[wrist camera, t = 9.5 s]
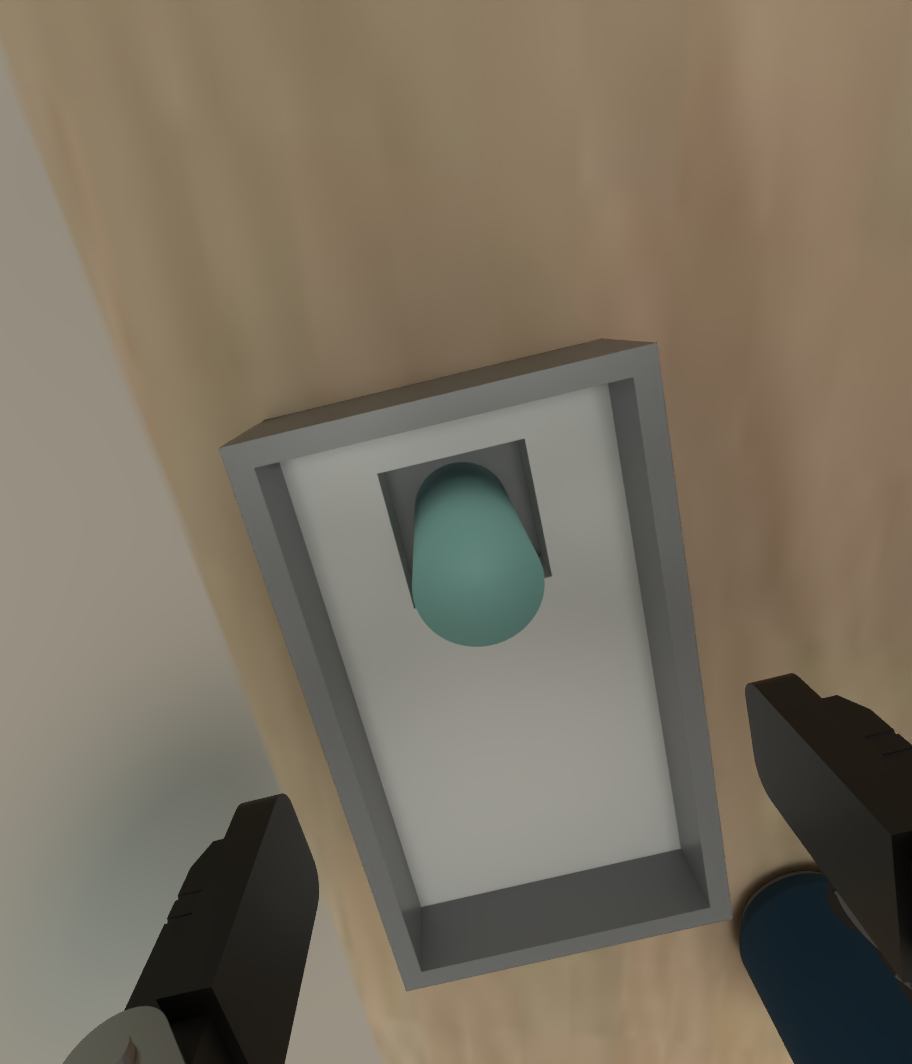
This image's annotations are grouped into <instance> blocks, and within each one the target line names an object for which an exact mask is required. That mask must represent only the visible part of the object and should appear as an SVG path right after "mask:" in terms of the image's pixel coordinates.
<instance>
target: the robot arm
mask: <svg viewBox="0 0 912 1064" xmlns="http://www.w3.org/2000/svg"><path fill="white" fill-rule="evenodd" d="M745 696H746V703H747V710H748V717H749V724H750V731H751V737H752V744H753V751H754V758H755V763H756V767H757V771H758V774H759V777H760V779H761V782H762V784H763V787H764V789H765V791H766V793H767V795H768V796H769V798H770V800H771V801H772V802H773V804H774V805H775V807H776V808H777V809H778V811H779V812H780V814H781V815H782V816H783V818H784V819H785V820H786V822H787V823H788V825H789V826H790V827H791V829H792V830H793V832H794V833H795V834H796V836H797V837H798V838H799V840H800V841H801V843H802V844H803V845H804V847H805V848H806V849H807V851H808V852H809V854H810V855H811V856H812V858H813V859H814V861H815V862H816V863H817V865H818V866H819V867H820V869H821V870H822V872H823V873H824V874H825V876H826V877H827V878H828V880H829V881H830V883H831V884H832V885H833V887H834V888H835V890H836V891H837V892H838V894H839V895H840V896H841V898H842V899H843V901H844V902H845V903H846V905H847V906H848V908H849V909H850V910H851V912H852V913H853V914H854V916H855V917H856V919H857V920H858V921H859V923H860V924H861V925H862V927H863V928H864V930H865V931H866V932H867V934H868V935H869V937H870V938H871V939H872V941H873V942H874V943H875V945H876V946H877V948H878V949H879V950H880V952H881V953H882V955H883V956H884V957H885V959H886V960H887V961H888V963H889V964H890V966H891V967H892V968H893V970H894V971H895V972H896V974H897V975H898V977H899V978H900V979H901V981H902V982H903V983H906V982H910V981H912V745H911V744H910V743H909V742H908V741H906V740H905V739H904V738H903V737H902V736H901V735H899V734H895V732H894V729H892V728H891V727H890V726H889V725H888V724H887V723H885V722H884V721H883V720H882V719H881V718H880V717H878V716H877V715H876V714H875V713H874V712H873V711H871V710H870V709H868V708H866V707H863V706H861V705H859V704H857V703H854V702H852V701H850V700H847V699H845V698H843V697H840V696H838V695H835V696H831V697H827V698H823V699H822V698H821V697H820V696H819V695H818V694H817V693H816V692H814V691H813V690H812V689H811V688H810V687H809V686H808V685H807V684H806V683H805V682H804V681H803V680H802V679H801V678H799V677H798V676H797V675H795V674H793V673H790V674H786V675H782V676H778V677H773V678H769V679H765V680H761V681H757V682H752V683H748V684H747V685H746V689H745ZM318 900H319V881H318V874H317V869H316V865H315V862H314V859H313V857H312V854H311V851H310V849H309V846H308V844H307V841H306V839H305V836H304V834H303V831H302V828H301V826H300V823H299V821H298V818H297V816H296V813H295V811H294V808H293V805H292V803H291V801H290V799H289V798H288V796H287V795H285V794H279V795H274V796H271V797H266V798H262V799H258V800H253V801H249V802H245V803H241V804H240V805H239V806H238V807H237V809H236V812H235V814H234V816H233V818H232V821H231V823H230V826H229V828H228V830H227V833H226V835H225V837H224V839H221V840H217V841H213V842H212V844H211V845H210V846H209V847H208V848H207V849H206V851H205V852H204V853H203V854H202V855H201V856H200V858H199V859H198V860H197V861H196V862H195V863H194V864H193V866H192V867H191V868H190V870H189V872H188V875H187V877H186V879H185V881H184V883H183V885H182V888H181V890H180V892H179V894H178V900H177V901H175V903H174V905H173V907H172V909H171V911H170V913H169V915H168V918H167V919H168V923H167V924H164V926H163V928H162V930H161V933H160V935H159V937H158V939H157V941H156V944H155V946H154V948H153V950H152V952H151V954H150V957H149V959H148V961H147V963H146V965H145V967H144V969H143V971H142V974H141V976H140V978H139V980H138V982H137V985H136V987H135V989H134V991H133V993H132V995H131V997H130V999H129V1002H128V1004H127V1006H126V1008H125V1010H124V1011H123V1012H120V1013H118V1014H116V1015H115V1016H113V1017H111V1018H109V1019H107V1020H106V1021H105V1022H103V1023H102V1024H100V1025H99V1026H97V1027H96V1028H95V1029H94V1030H93V1031H91V1032H90V1033H89V1034H88V1035H87V1036H86V1037H85V1038H84V1039H83V1040H82V1041H81V1042H80V1043H79V1044H78V1045H77V1046H76V1047H75V1048H74V1049H73V1051H72V1052H71V1053H70V1054H69V1056H68V1057H67V1058H66V1060H65V1061H64V1063H63V1064H285V1059H286V1054H287V1049H288V1045H289V1040H290V1035H291V1030H292V1025H293V1021H294V1015H295V1011H296V1006H297V1001H298V997H299V992H300V987H301V982H302V978H303V973H304V968H305V964H306V959H307V954H308V949H309V944H310V940H311V935H312V930H313V925H314V920H315V916H316V911H317V906H318Z"/></svg>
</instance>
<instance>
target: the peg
mask: <svg viewBox="0 0 912 1064" xmlns="http://www.w3.org/2000/svg"><path fill="white" fill-rule="evenodd" d="M544 587H545V580H544V572H543V567H542V565H541V562H540V559H539V557H538V555H537V553H536V551H535V549H534V547H533V545H532V543H531V541H530V539H529V537H528V535H527V533H526V531H525V529H524V527H523V525H522V523H521V521H520V519H519V517H518V515H517V513H516V511H515V509H514V507H513V505H512V503H511V501H510V499H509V496H508V494H507V492H506V490H505V488H504V487H503V485H502V483H501V481H500V480H499V479H498V478H497V477H496V475H495V474H493V473H492V472H491V471H490V470H488V469H487V468H485V467H483V466H481V465H478V464H475V463H470V462H455V463H450V464H447V465H444V466H442V467H440V468H438V469H436V470H435V471H434V472H432V473H431V474H430V475H429V476H428V477H427V478H426V479H425V480H424V482H423V483H422V485H421V487H420V489H419V491H418V493H417V497H416V502H415V522H414V548H413V573H412V594H413V600H414V603H415V607H416V609H417V611H418V614H419V615H420V617H421V618H422V620H423V621H424V623H425V624H426V625H427V626H428V627H429V628H430V629H431V630H432V631H433V632H434V633H436V634H437V635H438V636H440V637H442V638H443V639H445V640H447V641H450V642H452V643H455V644H459V645H463V646H470V647H483V646H490V645H494V644H498V643H501V642H503V641H506V640H508V639H510V638H512V637H513V636H515V635H516V634H518V633H519V632H521V631H522V630H523V629H524V628H525V627H526V626H527V625H528V624H529V623H530V622H531V621H532V619H533V618H534V616H535V615H536V613H537V611H538V609H539V607H540V605H541V602H542V599H543V595H544Z"/></svg>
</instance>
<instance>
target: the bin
mask: <svg viewBox="0 0 912 1064" xmlns="http://www.w3.org/2000/svg"><path fill="white" fill-rule="evenodd" d="M219 451H220V454H221V456H222V459H223V462H224V465H225V468H226V471H227V474H228V477H229V480H230V482H231V485H232V488H233V491H234V494H235V497H236V500H237V503H238V506H239V508H240V511H241V514H242V517H243V520H244V523H245V526H246V529H247V532H248V535H249V537H250V540H251V543H252V546H253V549H254V552H255V555H256V558H257V561H258V563H259V566H260V569H261V572H262V575H263V578H264V581H265V584H266V587H267V590H268V592H269V595H270V598H271V601H272V604H273V607H274V610H275V613H276V616H277V618H278V621H279V624H280V627H281V630H282V633H283V636H284V639H285V642H286V645H287V647H288V650H289V653H290V656H291V659H292V662H293V665H294V668H295V671H296V673H297V676H298V679H299V682H300V685H301V688H302V691H303V694H304V697H305V699H306V702H307V705H308V708H309V711H310V714H311V717H312V720H313V723H314V726H315V728H316V731H317V734H318V737H319V740H320V743H321V746H322V749H323V752H324V754H325V757H326V760H327V763H328V766H329V769H330V772H331V775H332V778H333V781H334V783H335V786H336V789H337V792H338V795H339V798H340V801H341V804H342V807H343V809H344V812H345V815H346V818H347V821H348V824H349V827H350V830H351V833H352V836H353V838H354V841H355V844H356V847H357V850H358V853H359V856H360V859H361V862H362V864H363V867H364V870H365V873H366V876H367V879H368V882H369V885H370V888H371V890H372V893H373V896H374V899H375V902H376V905H377V908H378V911H379V914H380V917H381V919H382V922H383V925H384V928H385V931H386V934H387V937H388V940H389V943H390V945H391V948H392V951H393V954H394V957H395V960H396V963H397V966H398V969H399V972H400V974H401V977H402V980H403V983H404V986H405V989H406V991H410V990H415V989H419V988H424V987H428V986H433V985H437V984H442V983H446V982H451V981H455V980H460V979H464V978H469V977H473V976H478V975H482V974H487V973H491V972H496V971H500V970H505V969H509V968H514V967H518V966H523V965H527V964H532V963H536V962H541V961H545V960H550V959H554V958H559V957H563V956H568V955H572V954H577V953H581V952H586V951H590V950H594V949H599V948H603V947H608V946H612V945H617V944H621V943H626V942H630V941H635V940H639V939H644V938H648V937H653V936H657V935H662V934H666V933H671V932H675V931H680V930H684V929H689V928H693V927H698V926H702V925H707V924H711V923H716V922H720V921H725V920H729V919H733V916H732V909H731V901H730V893H729V886H728V878H727V871H726V863H725V856H724V848H723V840H722V833H721V825H720V818H719V810H718V802H717V795H716V787H715V780H714V772H713V765H712V757H711V749H710V742H709V734H708V727H707V719H706V711H705V704H704V696H703V689H702V681H701V674H700V666H699V658H698V651H697V643H696V636H695V628H694V621H693V613H692V605H691V598H690V590H689V583H688V575H687V567H686V560H685V552H684V545H683V537H682V530H681V522H680V514H679V507H678V499H677V492H676V484H675V476H674V469H673V461H672V454H671V446H670V439H669V431H668V423H667V416H666V408H665V401H664V393H663V386H662V378H661V370H660V363H659V355H658V348H657V343H654V342H640V341H626V340H613V339H599V340H595V341H591V342H586V343H582V344H578V345H574V346H570V347H566V348H562V349H557V350H553V351H549V352H545V353H541V354H537V355H533V356H528V357H524V358H520V359H516V360H512V361H508V362H504V363H499V364H495V365H491V366H487V367H483V368H479V369H475V370H470V371H466V372H462V373H458V374H454V375H450V376H446V377H441V378H437V379H433V380H429V381H425V382H421V383H417V384H412V385H408V386H404V387H400V388H396V389H392V390H388V391H383V392H379V393H375V394H371V395H367V396H363V397H359V398H354V399H350V400H346V401H342V402H338V403H334V404H330V405H325V406H321V407H317V408H313V409H309V410H305V411H300V412H296V413H292V414H288V415H284V416H280V417H276V418H271V419H267V420H264V421H263V422H261V423H259V424H258V425H256V426H254V427H253V428H251V429H249V430H248V431H246V432H245V433H243V434H241V435H240V436H238V437H236V438H235V439H233V440H231V441H230V442H228V443H226V444H225V445H223V446H221V447H220V448H219ZM455 462H470V463H475V464H478V465H481V466H483V467H485V468H487V469H488V470H490V471H491V472H492V473H493V474H495V475H496V477H497V478H498V479H499V480H500V481H501V483H502V485H503V487H504V488H505V490H506V492H507V494H508V496H509V499H510V501H511V503H512V505H513V507H514V509H515V511H516V513H517V515H518V517H519V519H520V521H521V523H522V525H523V527H524V529H525V531H526V533H527V535H528V537H529V539H530V541H531V543H532V545H533V547H534V549H535V551H536V553H537V555H538V557H539V559H540V562H541V565H542V567H543V572H544V580H545V587H544V595H543V599H542V602H541V605H540V607H539V609H538V611H537V613H536V615H535V616H534V618H533V619H532V621H531V622H530V623H529V624H528V625H527V626H526V627H525V628H524V629H523V630H522V631H521V632H519V633H518V634H516V635H515V636H513V637H512V638H510V639H508V640H506V641H503V642H501V643H498V644H494V645H490V646H483V647H470V646H463V645H459V644H455V643H452V642H450V641H447V640H445V639H443V638H442V637H440V636H438V635H437V634H436V633H434V632H433V631H432V630H431V629H430V628H429V627H428V626H427V625H426V624H425V623H424V621H423V620H422V618H421V617H420V615H419V614H418V611H417V609H416V607H415V603H414V600H413V594H412V573H413V548H414V522H415V502H416V497H417V493H418V491H419V489H420V487H421V485H422V483H423V482H424V480H425V479H426V478H427V477H428V476H429V475H430V474H431V473H432V472H434V471H435V470H436V469H438V468H440V467H442V466H444V465H447V464H450V463H455Z"/></svg>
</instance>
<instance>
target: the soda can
mask: <svg viewBox="0 0 912 1064" xmlns="http://www.w3.org/2000/svg"><path fill="white" fill-rule="evenodd" d="M740 954H741V958H742V962H743V964H744V966H745V968H746V970H747V972H748V974H749V976H750V978H751V980H752V982H753V984H754V986H755V988H756V990H757V992H758V994H759V996H760V998H761V1000H762V1002H763V1004H764V1005H765V1007H766V1009H767V1011H768V1013H769V1015H770V1017H771V1019H772V1021H773V1023H774V1025H775V1027H776V1029H777V1031H778V1033H779V1035H780V1037H781V1039H782V1041H783V1043H784V1045H785V1047H786V1049H787V1051H788V1053H789V1055H790V1057H791V1059H792V1061H793V1063H794V1064H912V981H910V982H906V983H903V982H902V981H901V979H900V978H899V977H898V975H897V974H896V972H895V971H894V970H893V968H892V967H891V966H890V964H889V963H888V961H887V960H886V959H885V957H884V956H883V955H882V953H881V952H880V950H879V949H878V948H877V946H876V945H875V943H874V942H873V941H872V939H871V938H870V937H869V935H868V934H867V932H866V931H865V930H864V928H863V927H862V925H861V924H860V923H859V921H858V920H857V919H856V917H855V916H854V914H853V913H852V912H851V910H850V909H849V908H848V906H847V905H846V903H845V902H844V901H843V899H842V898H841V896H840V895H839V894H838V892H837V891H836V890H835V888H834V887H833V885H832V884H831V883H830V881H829V880H828V878H827V877H826V876H825V874H823V873H820V872H814V871H798V872H792V873H788V874H784V875H781V876H779V877H777V878H774V879H772V880H771V881H769V882H767V883H766V884H764V885H763V886H762V887H760V888H759V889H758V890H757V891H756V892H755V893H754V894H753V895H752V897H751V898H750V899H749V901H748V902H747V904H746V906H745V908H744V911H743V914H742V920H741V929H740Z"/></svg>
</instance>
